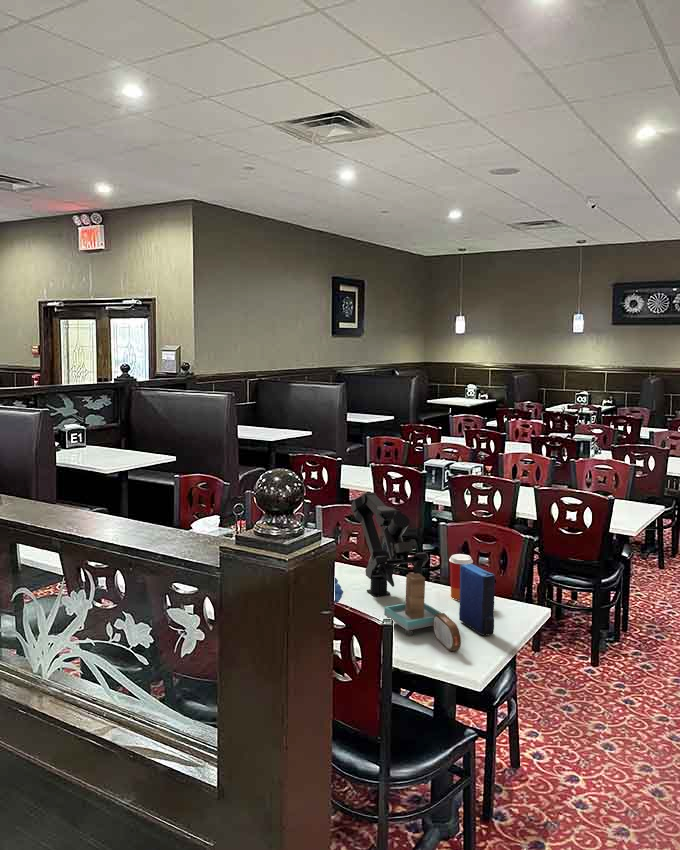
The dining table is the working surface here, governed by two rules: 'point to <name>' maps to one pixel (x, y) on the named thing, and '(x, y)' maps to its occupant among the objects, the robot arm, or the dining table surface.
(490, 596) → the book
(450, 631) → the tin
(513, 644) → the dining table surface
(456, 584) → the coffee cup
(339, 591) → the grapes
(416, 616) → the walnut block
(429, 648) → the dining table surface
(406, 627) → the teal shallow tray
